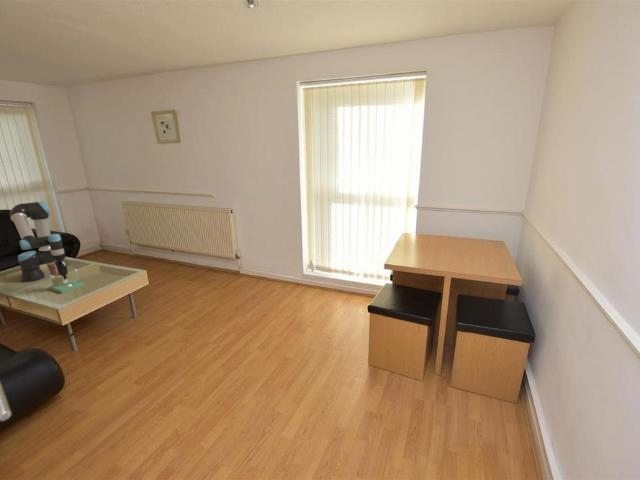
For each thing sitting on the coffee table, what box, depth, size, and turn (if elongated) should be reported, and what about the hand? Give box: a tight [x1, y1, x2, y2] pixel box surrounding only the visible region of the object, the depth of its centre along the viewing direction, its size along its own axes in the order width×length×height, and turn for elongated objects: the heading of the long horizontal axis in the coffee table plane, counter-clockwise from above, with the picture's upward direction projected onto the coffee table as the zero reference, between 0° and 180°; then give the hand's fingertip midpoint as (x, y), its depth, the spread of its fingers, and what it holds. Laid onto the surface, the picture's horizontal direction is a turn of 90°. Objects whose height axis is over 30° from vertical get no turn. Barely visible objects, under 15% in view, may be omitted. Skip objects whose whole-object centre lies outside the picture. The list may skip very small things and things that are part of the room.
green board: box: [48, 279, 86, 294], centre depth 246 cm, size 18×16×2 cm
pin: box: [74, 265, 81, 282], centre depth 247 cm, size 4×1×14 cm, turn 63°
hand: (65, 282), depth 246 cm, fingers closed
